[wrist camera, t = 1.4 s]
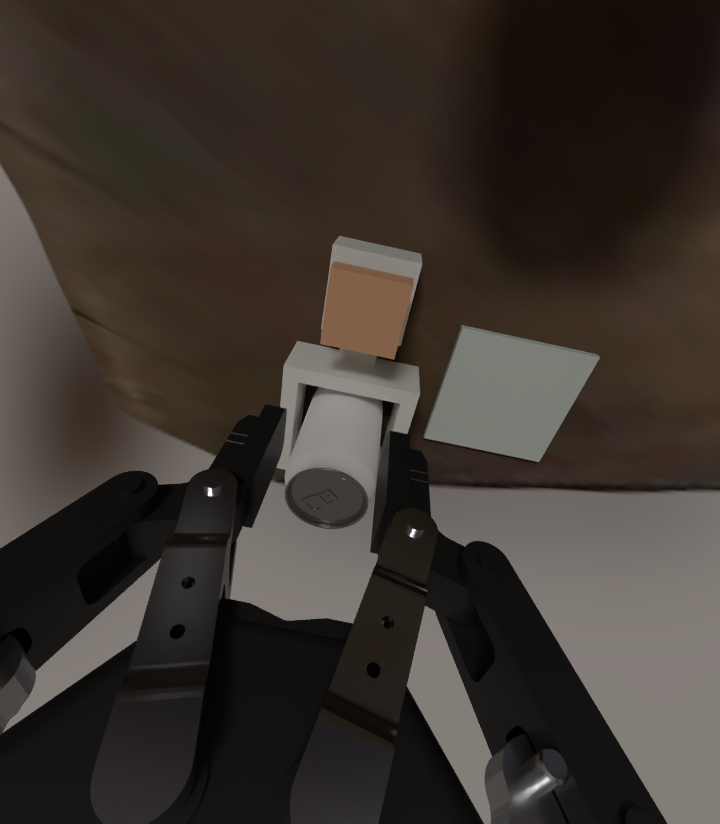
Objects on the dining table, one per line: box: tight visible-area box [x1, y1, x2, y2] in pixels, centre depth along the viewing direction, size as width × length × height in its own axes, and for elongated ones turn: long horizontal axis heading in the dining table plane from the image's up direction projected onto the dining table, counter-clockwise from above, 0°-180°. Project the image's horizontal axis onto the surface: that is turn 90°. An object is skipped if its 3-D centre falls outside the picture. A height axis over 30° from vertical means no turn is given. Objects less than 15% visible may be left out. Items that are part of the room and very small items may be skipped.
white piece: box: [276, 236, 422, 484], centre depth 32 cm, size 10×19×4 cm, turn 169°
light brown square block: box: [320, 261, 414, 359], centre depth 27 cm, size 5×5×4 cm
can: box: [285, 387, 383, 529], centre depth 32 cm, size 6×6×12 cm
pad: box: [424, 325, 600, 462], centre depth 34 cm, size 11×11×1 cm
